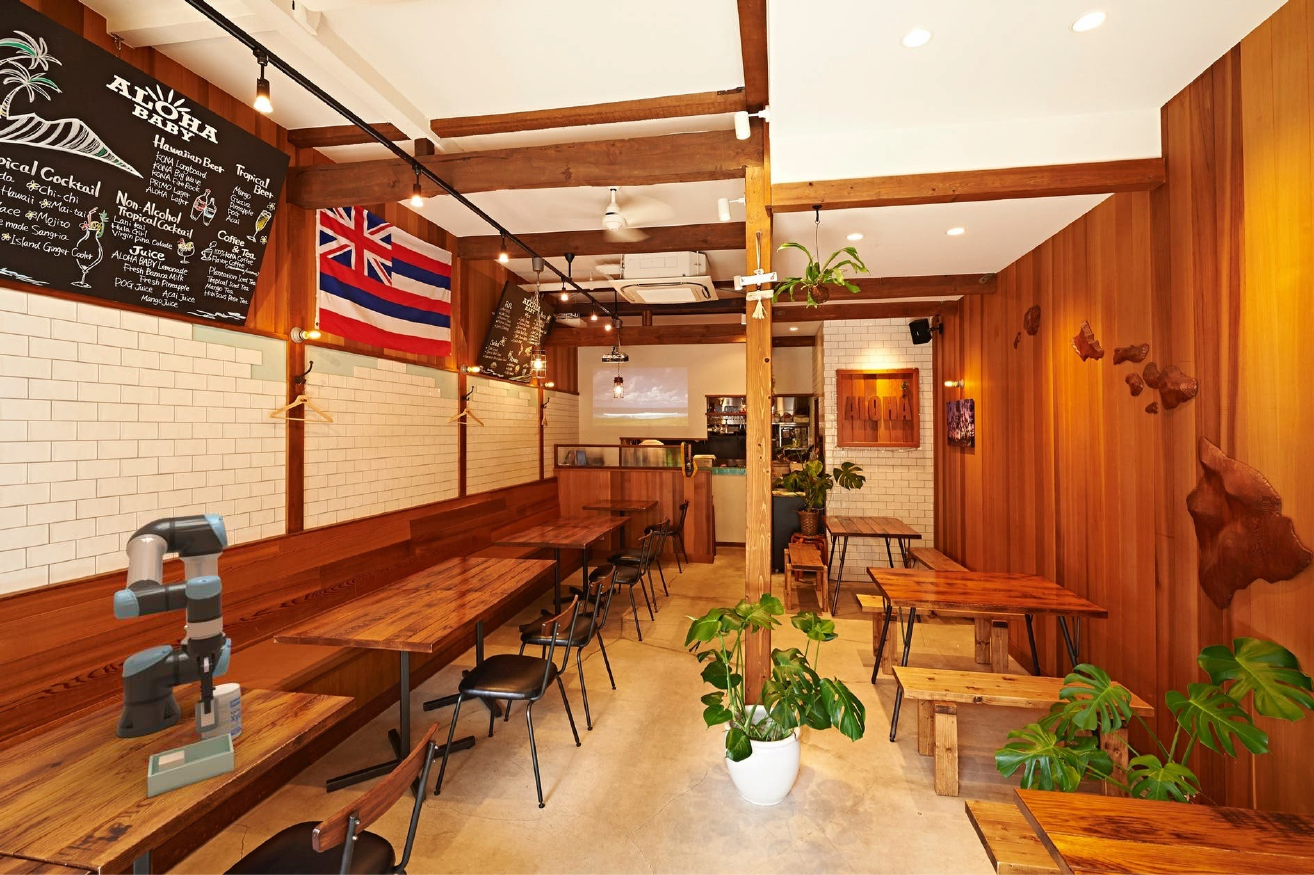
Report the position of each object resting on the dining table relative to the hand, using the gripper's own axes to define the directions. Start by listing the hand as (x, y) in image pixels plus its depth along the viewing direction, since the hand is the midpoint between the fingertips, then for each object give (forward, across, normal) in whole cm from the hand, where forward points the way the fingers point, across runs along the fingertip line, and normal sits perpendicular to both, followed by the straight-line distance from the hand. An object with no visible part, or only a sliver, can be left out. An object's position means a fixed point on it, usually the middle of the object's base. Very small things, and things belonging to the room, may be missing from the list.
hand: (207, 720), depth 154 cm
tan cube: (+12, 0, -8) cm, 14 cm away
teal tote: (+13, 0, -4) cm, 13 cm away
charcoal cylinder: (+2, 0, 0) cm, 2 cm away
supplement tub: (+13, -17, +3) cm, 22 cm away
